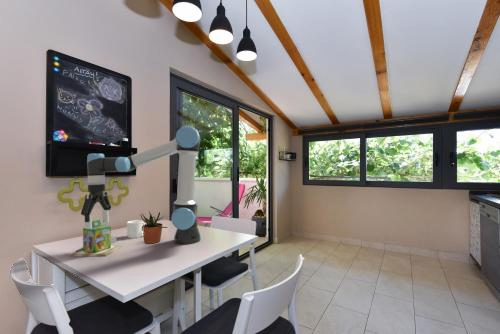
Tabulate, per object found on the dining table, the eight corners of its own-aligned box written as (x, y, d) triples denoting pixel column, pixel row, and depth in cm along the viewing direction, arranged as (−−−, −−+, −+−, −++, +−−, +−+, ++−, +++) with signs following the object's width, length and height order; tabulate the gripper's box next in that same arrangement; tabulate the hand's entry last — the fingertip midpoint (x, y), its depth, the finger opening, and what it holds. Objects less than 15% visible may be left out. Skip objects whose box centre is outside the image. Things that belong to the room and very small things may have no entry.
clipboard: (121, 247, 133) (121, 245, 133) (106, 256, 120) (106, 253, 120) (88, 247, 133) (88, 244, 133) (69, 256, 120) (69, 253, 120)
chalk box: (94, 253, 121) (94, 223, 121) (82, 251, 124) (82, 221, 124) (111, 247, 129) (111, 219, 129) (99, 245, 133) (99, 218, 133)
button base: (116, 241, 144) (116, 236, 144) (105, 247, 134) (105, 241, 134) (99, 241, 144) (99, 236, 144) (87, 246, 134) (87, 241, 134)
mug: (123, 238, 151) (123, 223, 151) (133, 234, 160) (133, 219, 160) (142, 238, 149) (142, 223, 149) (150, 235, 158) (150, 220, 158)
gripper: (104, 182, 139) (105, 220, 139) (70, 185, 114) (72, 231, 114) (117, 182, 139) (118, 219, 139) (86, 185, 114) (88, 231, 114)
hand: (97, 225), depth 127 cm, fingers open, 13 cm apart
